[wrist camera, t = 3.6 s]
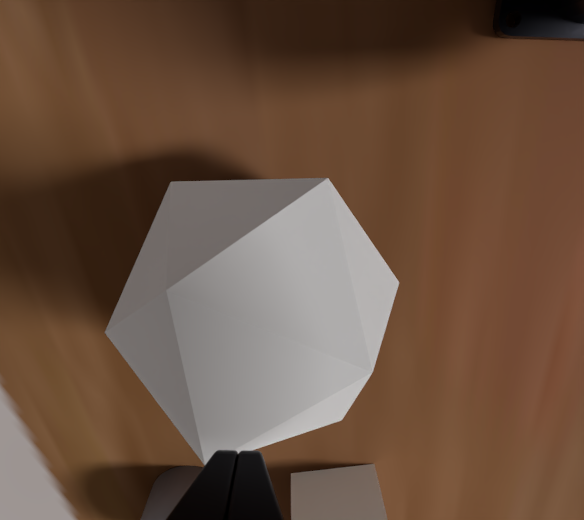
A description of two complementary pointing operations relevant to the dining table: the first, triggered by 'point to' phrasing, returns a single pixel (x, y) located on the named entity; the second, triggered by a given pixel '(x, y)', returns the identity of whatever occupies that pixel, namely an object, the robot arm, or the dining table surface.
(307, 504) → the cream block
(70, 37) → the dining table surface
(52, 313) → the dining table surface
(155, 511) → the grey rounded piece
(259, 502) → the robot arm
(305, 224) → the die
